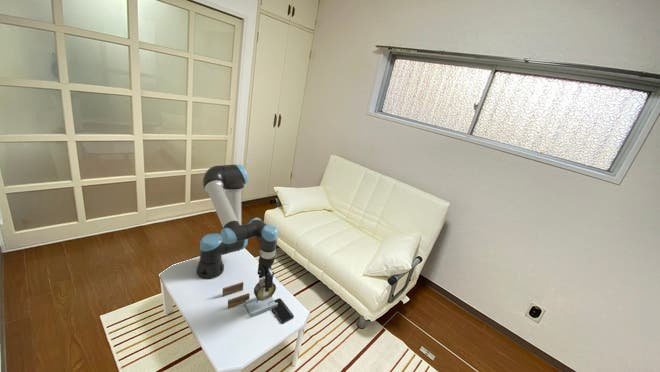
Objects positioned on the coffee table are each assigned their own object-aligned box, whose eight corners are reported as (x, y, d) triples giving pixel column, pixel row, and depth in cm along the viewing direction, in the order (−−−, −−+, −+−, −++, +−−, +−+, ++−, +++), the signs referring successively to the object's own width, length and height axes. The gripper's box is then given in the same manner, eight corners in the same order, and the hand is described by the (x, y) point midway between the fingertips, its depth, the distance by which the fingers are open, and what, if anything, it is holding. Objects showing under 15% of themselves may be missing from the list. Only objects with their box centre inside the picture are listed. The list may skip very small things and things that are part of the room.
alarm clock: (255, 305, 137) (258, 281, 130) (251, 297, 140) (254, 274, 134) (274, 298, 143) (278, 275, 137) (270, 291, 147) (274, 268, 141)
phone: (280, 297, 150) (294, 316, 140) (279, 299, 150) (294, 318, 140) (267, 303, 145) (281, 323, 135) (267, 304, 145) (281, 324, 135)
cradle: (245, 304, 142) (245, 300, 141) (270, 295, 151) (270, 291, 150) (251, 317, 135) (252, 313, 135) (277, 307, 144) (277, 303, 143)
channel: (222, 295, 145) (222, 288, 143) (242, 288, 152) (242, 281, 150) (228, 308, 138) (228, 301, 136) (249, 301, 144) (249, 294, 142)
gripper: (253, 246, 135) (249, 282, 144) (267, 268, 123) (263, 306, 131) (266, 243, 140) (262, 278, 148) (282, 263, 127) (277, 300, 135)
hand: (263, 291), depth 140 cm, fingers closed on alarm clock, 5 cm apart
